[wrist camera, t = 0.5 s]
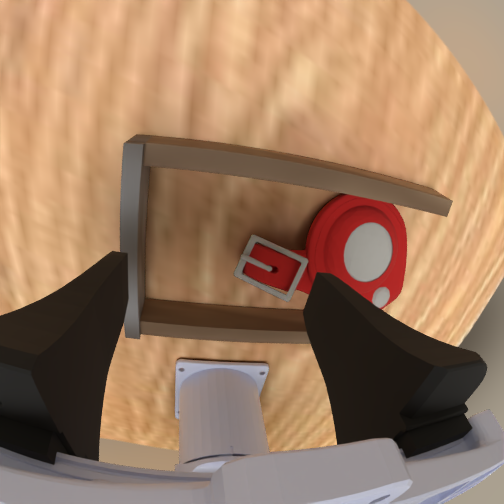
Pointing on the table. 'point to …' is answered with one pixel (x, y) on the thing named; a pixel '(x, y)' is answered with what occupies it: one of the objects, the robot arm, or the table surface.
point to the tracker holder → (336, 252)
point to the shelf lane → (245, 165)
